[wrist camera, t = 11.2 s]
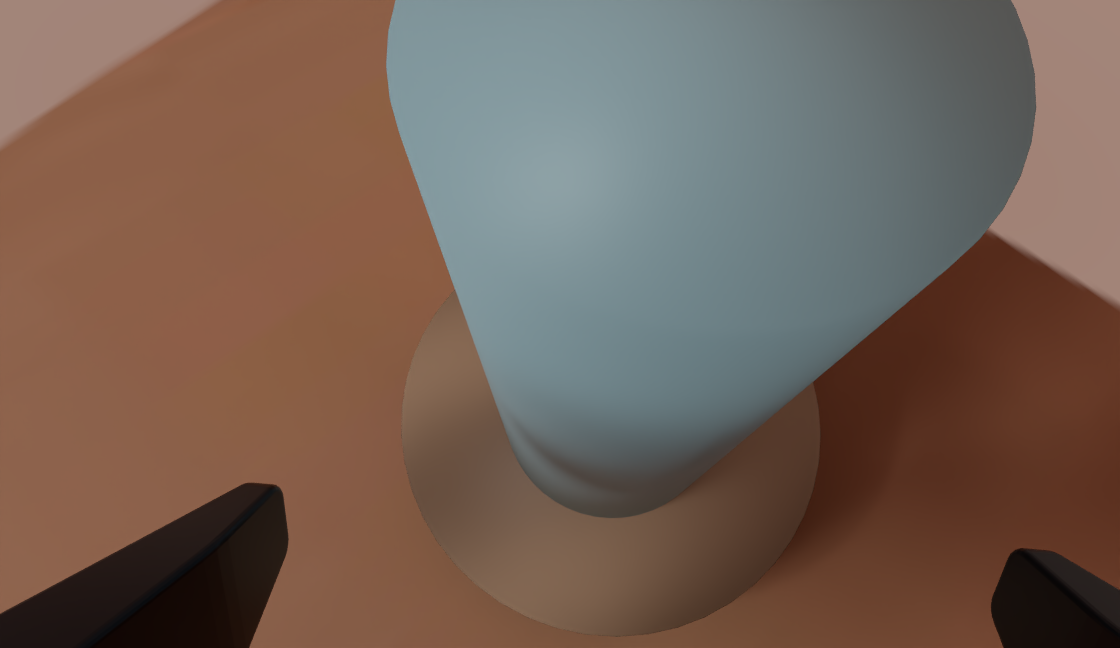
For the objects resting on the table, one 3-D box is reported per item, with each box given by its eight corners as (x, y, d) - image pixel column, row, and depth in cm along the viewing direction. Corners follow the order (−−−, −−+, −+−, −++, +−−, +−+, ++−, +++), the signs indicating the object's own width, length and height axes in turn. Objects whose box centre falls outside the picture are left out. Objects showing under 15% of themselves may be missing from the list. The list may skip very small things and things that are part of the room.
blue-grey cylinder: (733, 504, 17) (1148, 292, 5) (515, 530, 17) (394, 373, 5) (693, 303, 19) (920, -195, 7) (497, 324, 19) (380, -152, 7)
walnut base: (860, 499, 20) (909, 484, 17) (535, 713, 18) (530, 735, 15) (656, 216, 24) (668, 166, 21) (363, 370, 22) (334, 337, 19)
